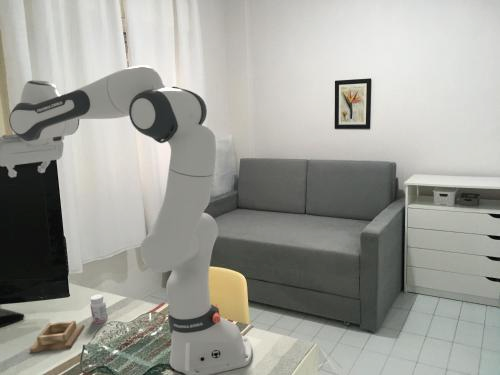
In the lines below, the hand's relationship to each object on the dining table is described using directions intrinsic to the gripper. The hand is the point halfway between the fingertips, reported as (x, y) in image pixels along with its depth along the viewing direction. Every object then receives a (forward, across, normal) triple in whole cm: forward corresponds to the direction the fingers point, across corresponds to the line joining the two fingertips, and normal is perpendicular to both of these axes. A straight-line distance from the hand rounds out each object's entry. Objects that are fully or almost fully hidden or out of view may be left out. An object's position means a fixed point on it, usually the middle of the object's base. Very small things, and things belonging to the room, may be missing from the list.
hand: (27, 174), depth 130 cm
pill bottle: (+40, +10, -34) cm, 54 cm away
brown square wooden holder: (+42, -4, -31) cm, 52 cm away
